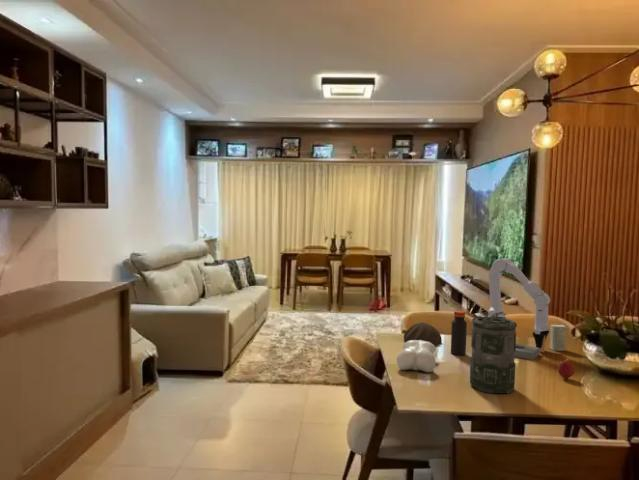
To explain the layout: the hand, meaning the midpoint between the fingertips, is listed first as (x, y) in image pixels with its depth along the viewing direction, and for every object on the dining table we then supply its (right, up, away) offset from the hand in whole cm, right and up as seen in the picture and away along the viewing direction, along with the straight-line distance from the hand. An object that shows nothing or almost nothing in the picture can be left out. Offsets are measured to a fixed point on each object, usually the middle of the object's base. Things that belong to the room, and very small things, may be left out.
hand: (540, 346), depth 235 cm
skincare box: (+10, -3, +4) cm, 11 cm away
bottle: (-42, -2, -8) cm, 43 cm away
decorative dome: (-55, -1, +14) cm, 56 cm away
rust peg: (0, -2, 0) cm, 2 cm away
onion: (-9, -4, -42) cm, 43 cm away
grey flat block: (-13, -2, -6) cm, 15 cm away
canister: (-43, -4, -54) cm, 69 cm away
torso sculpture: (-65, -2, -26) cm, 70 cm away
